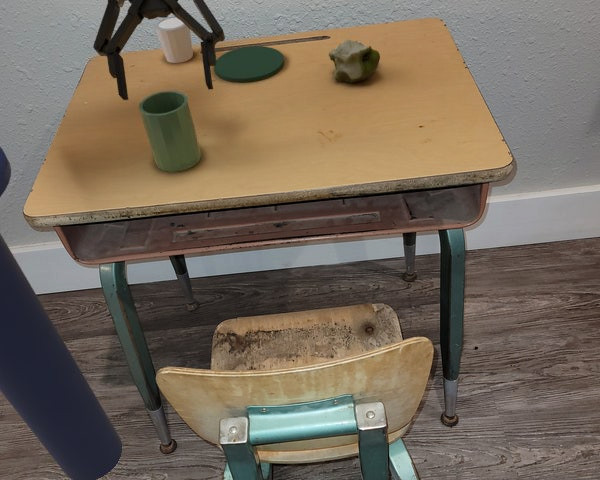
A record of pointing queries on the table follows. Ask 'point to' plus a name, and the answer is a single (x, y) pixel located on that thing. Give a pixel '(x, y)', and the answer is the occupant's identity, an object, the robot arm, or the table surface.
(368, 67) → the grey and green rock
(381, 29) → the table surface
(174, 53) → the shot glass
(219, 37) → the robot arm
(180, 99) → the green cup
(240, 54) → the green mat
